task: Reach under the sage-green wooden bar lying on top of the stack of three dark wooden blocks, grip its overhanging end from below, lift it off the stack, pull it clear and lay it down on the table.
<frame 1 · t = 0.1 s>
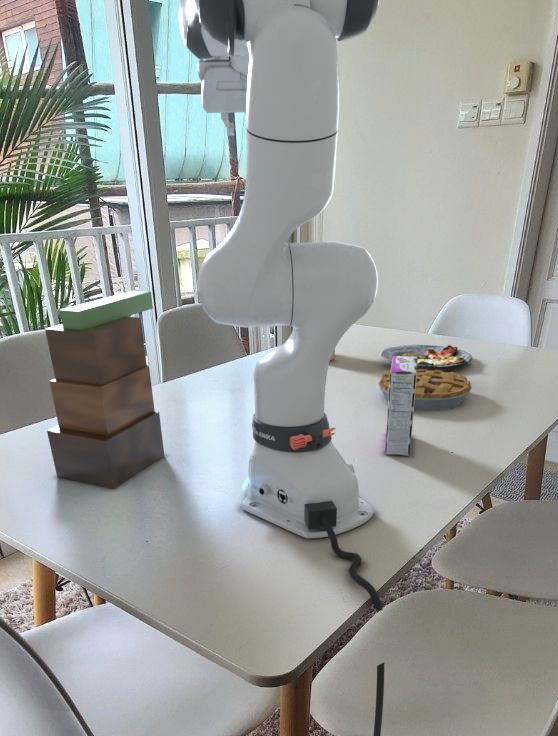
hand: (253, 133, 126), 54 cm above the table, tool tilted 30°, fingers open, 8 cm apart
candy bar box: (397, 446, 124), on the table
pie: (423, 398, 149), on the table
cracker box: (316, 357, 184), on the table
food plate: (425, 363, 176), on the table
block stack: (115, 464, 119), on the table
green bar: (110, 318, 109), point 26 cm above the table, touching block stack
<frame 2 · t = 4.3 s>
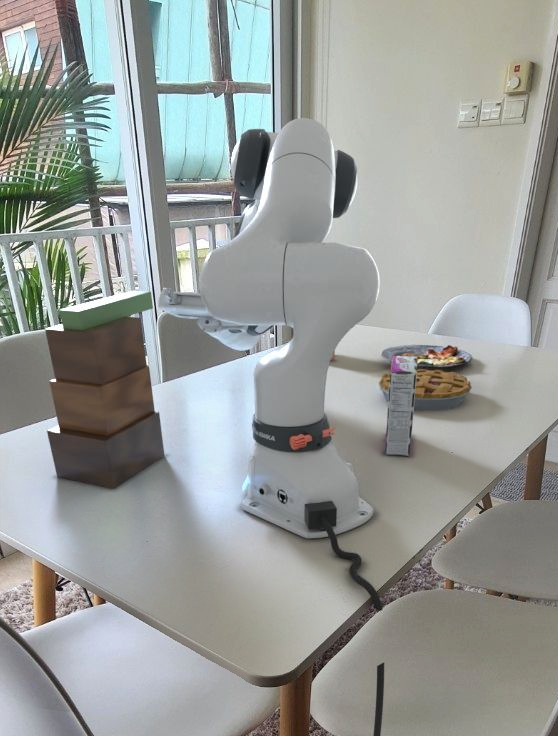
hand: (184, 292, 128), 27 cm above the table, tool pointing upward, fingers open, 8 cm apart
nothing on the table moved.
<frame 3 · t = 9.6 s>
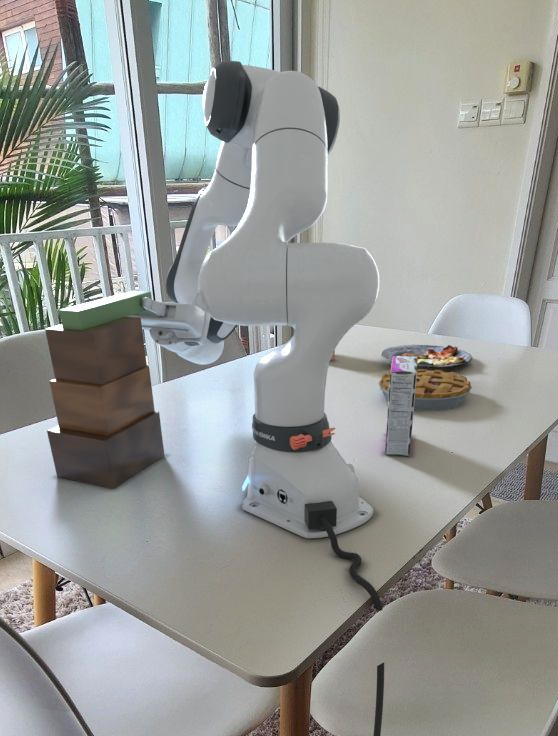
hand: (130, 300, 113), 28 cm above the table, tool pointing upward, fingers closed on green bar, 4 cm apart
green bar: (110, 318, 109), point 26 cm above the table, touching block stack, gripper
everything else where it was.
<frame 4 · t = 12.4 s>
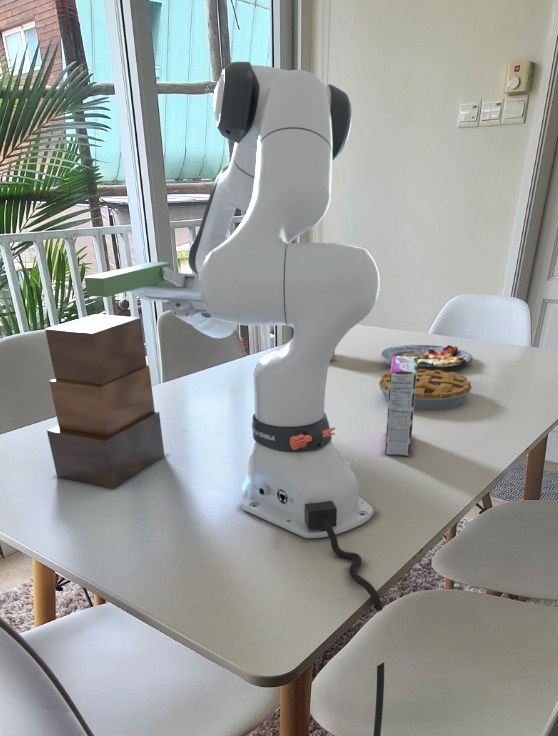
hand: (151, 270, 117), 32 cm above the table, tool pointing upward, fingers closed on green bar, 4 cm apart
green bar: (132, 287, 113), point 30 cm above the table, touching gripper
everything else where it was.
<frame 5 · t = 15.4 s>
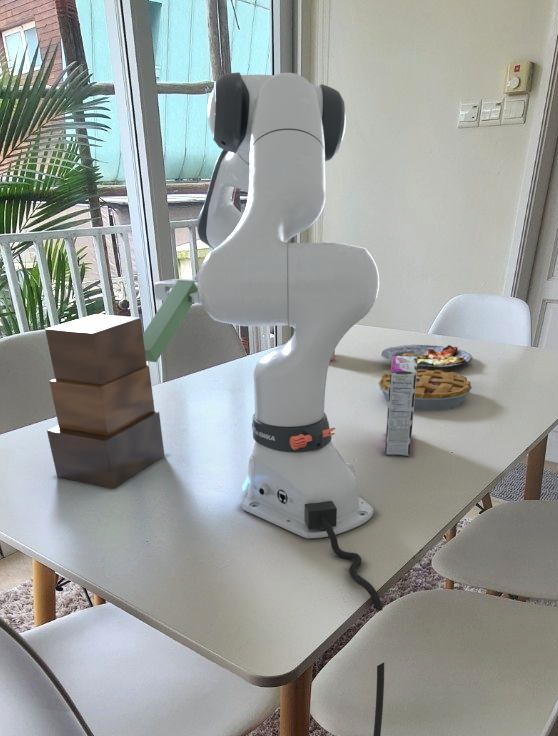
hand: (179, 297, 126), 26 cm above the table, tool horizontal, fingers closed on green bar, 4 cm apart
green bar: (170, 326, 125), point 21 cm above the table, tilted 30°, touching gripper
everything else where it was.
when the fingers open (10 cm above the table, at t = 20.3 s): green bar drops 5 cm, on the table.
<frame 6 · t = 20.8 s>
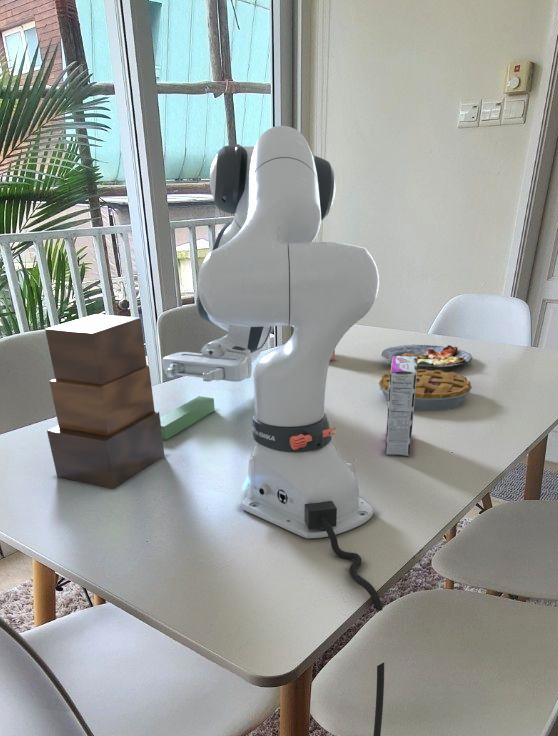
hand: (187, 375, 134), 10 cm above the table, tool horizontal, fingers open, 8 cm apart
green bar: (184, 423, 137), on the table
everything else where it was.
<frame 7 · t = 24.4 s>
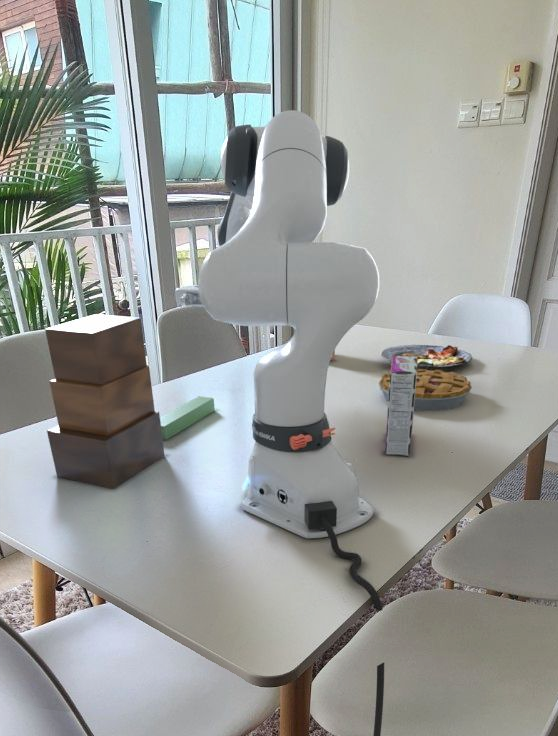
hand: (200, 303, 134), 24 cm above the table, tool horizontal, fingers open, 8 cm apart
nothing on the table moved.
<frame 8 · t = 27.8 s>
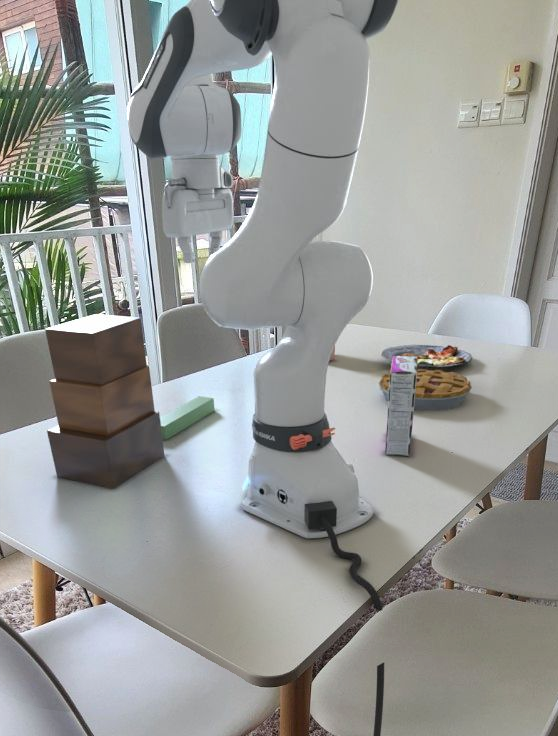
hand: (202, 259, 121), 33 cm above the table, tool pointing down, fingers open, 8 cm apart
nothing on the table moved.
at the end: green bar touching table; green bar on the table; the gripper is holding nothing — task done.
